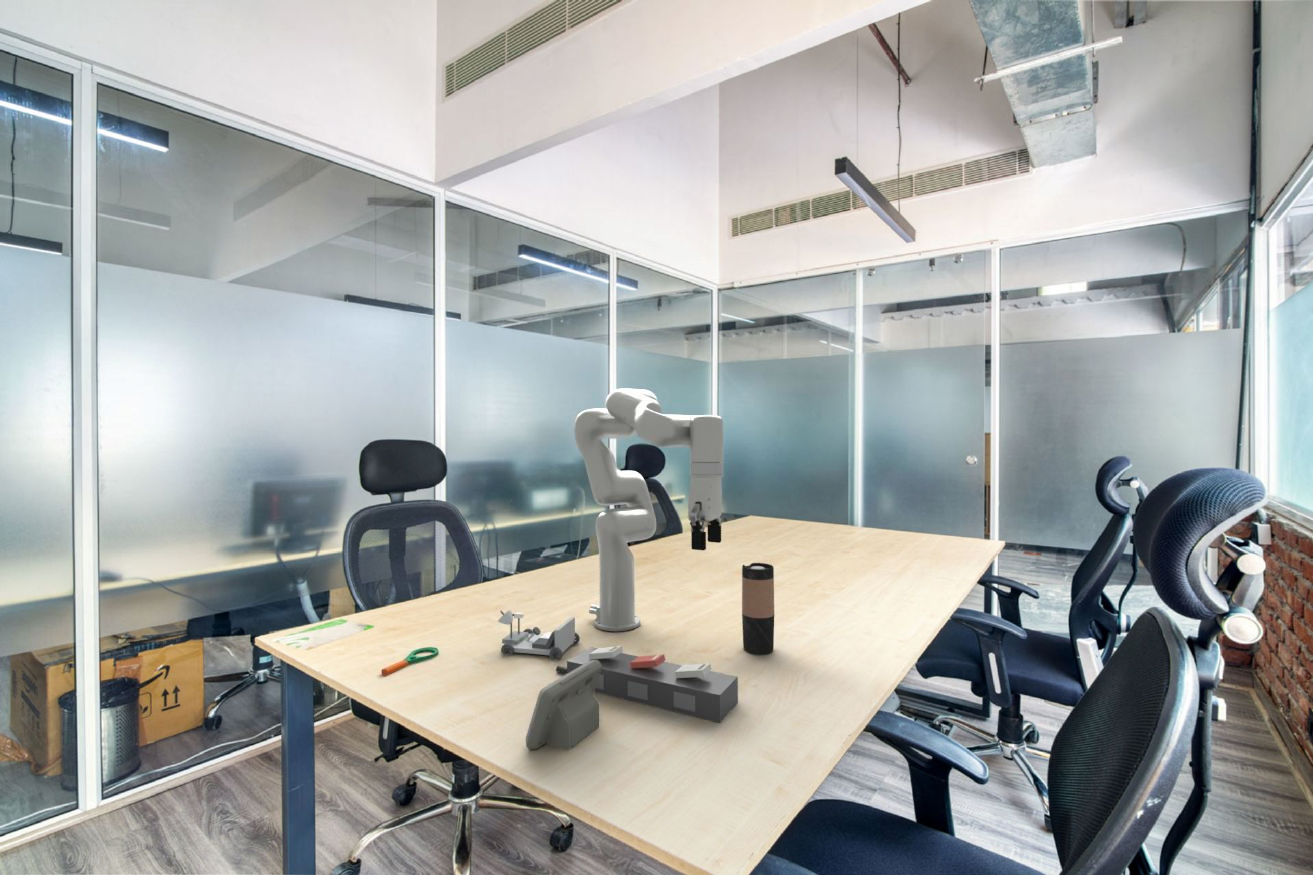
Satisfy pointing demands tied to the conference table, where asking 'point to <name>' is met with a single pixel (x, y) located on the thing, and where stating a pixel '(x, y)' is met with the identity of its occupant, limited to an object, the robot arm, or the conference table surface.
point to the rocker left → (605, 652)
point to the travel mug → (758, 608)
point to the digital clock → (566, 709)
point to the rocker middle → (647, 661)
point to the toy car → (538, 638)
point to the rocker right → (693, 670)
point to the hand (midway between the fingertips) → (706, 545)
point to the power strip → (663, 686)
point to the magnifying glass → (411, 660)
